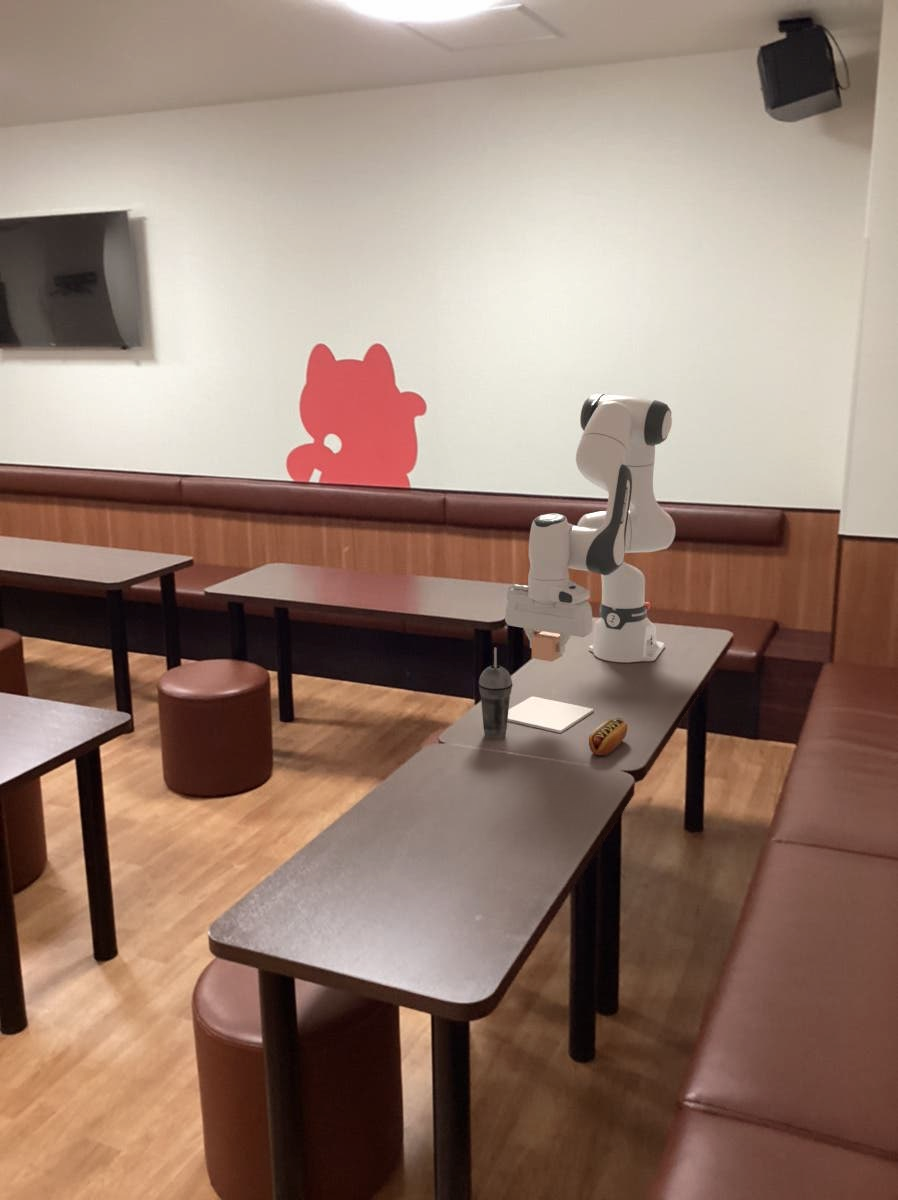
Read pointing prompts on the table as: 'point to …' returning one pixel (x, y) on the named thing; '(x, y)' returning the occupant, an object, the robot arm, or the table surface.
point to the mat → (547, 714)
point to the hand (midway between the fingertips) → (547, 650)
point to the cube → (545, 646)
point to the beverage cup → (495, 699)
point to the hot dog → (607, 736)
